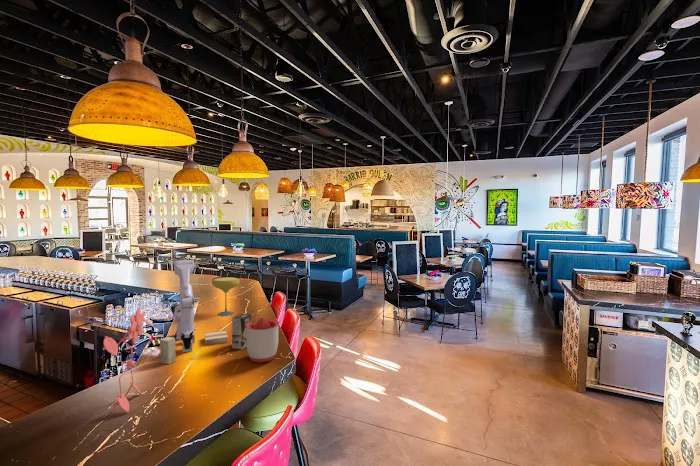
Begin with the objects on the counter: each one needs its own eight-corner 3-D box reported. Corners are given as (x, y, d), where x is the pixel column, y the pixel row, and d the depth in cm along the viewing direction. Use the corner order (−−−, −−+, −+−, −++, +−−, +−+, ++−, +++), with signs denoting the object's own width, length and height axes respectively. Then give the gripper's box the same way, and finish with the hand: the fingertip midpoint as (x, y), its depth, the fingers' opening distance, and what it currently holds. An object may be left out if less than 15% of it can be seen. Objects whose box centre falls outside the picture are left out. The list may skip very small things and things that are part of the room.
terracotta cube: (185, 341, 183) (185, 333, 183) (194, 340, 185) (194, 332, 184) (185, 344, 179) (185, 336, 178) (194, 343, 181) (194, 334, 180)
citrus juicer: (266, 348, 175) (266, 310, 174) (285, 358, 163) (285, 317, 162) (238, 356, 164) (238, 316, 163) (255, 368, 152) (255, 324, 151)
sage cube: (182, 349, 172) (182, 340, 171) (192, 347, 173) (192, 339, 173) (182, 352, 167) (182, 343, 167) (192, 351, 169) (192, 342, 169)
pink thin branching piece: (95, 427, 108) (96, 320, 107) (131, 387, 134) (132, 300, 132) (147, 423, 111) (148, 319, 110) (173, 385, 136) (174, 300, 135)
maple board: (205, 338, 187) (204, 333, 187) (225, 335, 192) (225, 330, 192) (205, 345, 177) (205, 340, 177) (227, 342, 182) (227, 337, 182)
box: (176, 360, 158) (175, 337, 158) (168, 364, 154) (168, 340, 154) (167, 359, 160) (167, 336, 159) (159, 362, 156) (159, 339, 155)
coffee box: (242, 349, 172) (242, 318, 172) (231, 348, 174) (231, 317, 173) (251, 343, 181) (251, 313, 181) (240, 342, 183) (240, 312, 182)
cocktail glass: (245, 312, 237) (244, 278, 236) (223, 319, 222) (223, 282, 221) (228, 308, 247) (228, 275, 246) (206, 314, 232) (206, 278, 230)
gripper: (195, 324, 165) (196, 351, 165) (195, 315, 178) (196, 340, 179) (179, 325, 162) (180, 353, 162) (181, 317, 175) (181, 342, 176)
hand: (187, 347), depth 170 cm, fingers closed on sage cube, 4 cm apart
